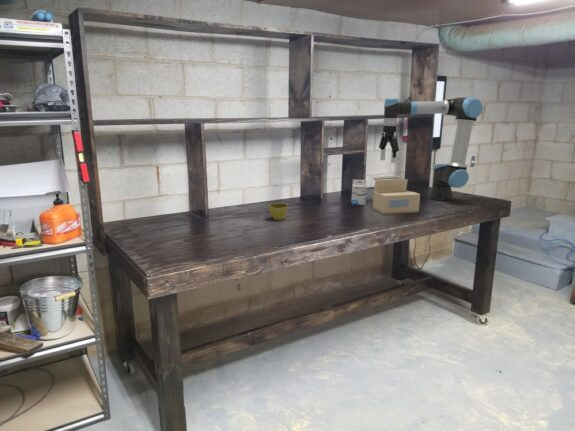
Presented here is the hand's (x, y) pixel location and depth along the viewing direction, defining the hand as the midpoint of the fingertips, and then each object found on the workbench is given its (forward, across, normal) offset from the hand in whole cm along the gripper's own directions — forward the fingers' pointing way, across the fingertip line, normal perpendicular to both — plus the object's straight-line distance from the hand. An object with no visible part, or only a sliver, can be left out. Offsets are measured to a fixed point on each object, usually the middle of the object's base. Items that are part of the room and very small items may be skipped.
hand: (387, 161), depth 263 cm
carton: (+27, +14, -1) cm, 30 cm away
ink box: (+27, -7, -15) cm, 31 cm away
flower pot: (+26, +17, -72) cm, 78 cm away
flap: (+13, +7, 0) cm, 15 cm away
